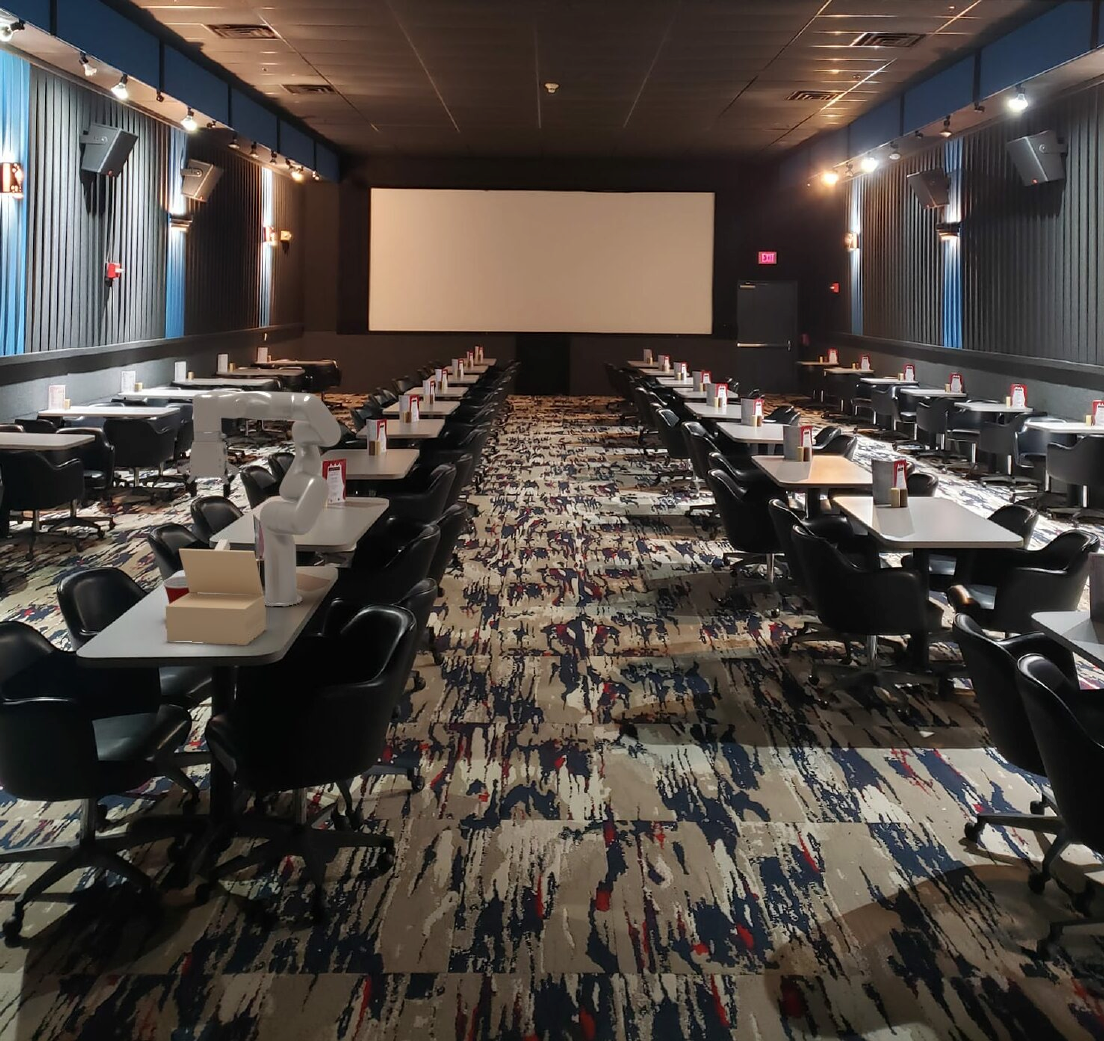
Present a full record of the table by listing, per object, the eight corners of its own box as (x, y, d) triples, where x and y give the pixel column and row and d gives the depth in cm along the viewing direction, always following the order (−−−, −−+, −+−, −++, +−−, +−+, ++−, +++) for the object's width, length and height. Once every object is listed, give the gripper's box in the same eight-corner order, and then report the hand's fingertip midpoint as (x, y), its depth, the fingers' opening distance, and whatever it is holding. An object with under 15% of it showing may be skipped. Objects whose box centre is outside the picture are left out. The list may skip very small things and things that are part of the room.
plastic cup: (161, 625, 335) (159, 584, 333) (166, 616, 346) (164, 576, 344) (201, 624, 338) (199, 583, 335) (204, 615, 348) (203, 575, 346)
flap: (189, 592, 332) (197, 578, 337) (262, 594, 330) (269, 580, 335) (178, 549, 324) (187, 536, 329) (253, 552, 322) (260, 538, 327)
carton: (189, 627, 334) (188, 592, 333) (266, 629, 332) (265, 595, 331) (166, 642, 319) (164, 606, 317) (246, 645, 317) (245, 609, 315)
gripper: (242, 436, 336) (244, 496, 339) (183, 435, 337) (186, 494, 340) (232, 439, 328) (234, 500, 331) (172, 438, 330) (175, 498, 333)
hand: (210, 497), depth 336 cm, fingers open, 9 cm apart
